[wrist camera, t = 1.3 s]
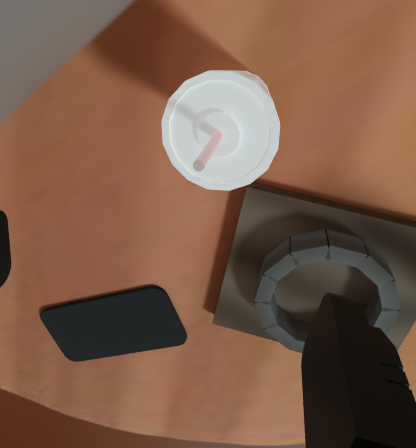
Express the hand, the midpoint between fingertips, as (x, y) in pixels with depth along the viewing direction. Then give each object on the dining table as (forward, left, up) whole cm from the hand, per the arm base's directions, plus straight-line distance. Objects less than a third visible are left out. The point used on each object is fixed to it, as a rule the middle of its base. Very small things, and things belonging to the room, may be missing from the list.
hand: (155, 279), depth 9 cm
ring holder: (+12, +10, -21) cm, 26 cm away
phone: (+24, -8, -21) cm, 33 cm away
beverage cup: (-1, 0, -21) cm, 21 cm away
